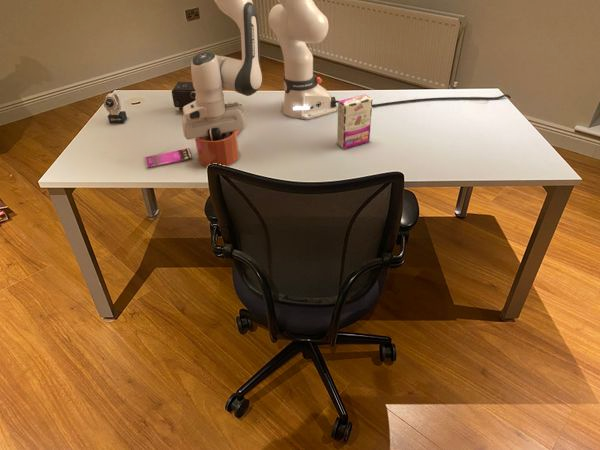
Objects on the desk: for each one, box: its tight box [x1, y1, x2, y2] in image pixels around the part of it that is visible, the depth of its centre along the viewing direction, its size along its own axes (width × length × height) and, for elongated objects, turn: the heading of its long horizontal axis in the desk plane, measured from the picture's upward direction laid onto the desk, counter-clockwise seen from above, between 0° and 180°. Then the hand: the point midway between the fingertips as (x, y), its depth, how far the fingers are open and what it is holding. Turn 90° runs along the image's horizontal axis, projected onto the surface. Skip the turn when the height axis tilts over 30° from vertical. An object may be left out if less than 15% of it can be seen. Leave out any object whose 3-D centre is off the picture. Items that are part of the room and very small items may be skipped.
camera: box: [171, 81, 196, 111], centre depth 177 cm, size 11×11×15 cm
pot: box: [194, 131, 240, 167], centre depth 148 cm, size 14×14×10 cm
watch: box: [102, 92, 128, 124], centre depth 171 cm, size 6×8×11 cm
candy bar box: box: [336, 94, 373, 150], centre depth 152 cm, size 11×5×16 cm, turn 117°
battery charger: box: [208, 127, 223, 141], centre depth 147 cm, size 7×4×11 cm, turn 2°
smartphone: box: [145, 147, 193, 169], centre depth 150 cm, size 7×15×1 cm, turn 111°
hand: (217, 145), depth 148 cm, fingers open, 4 cm apart
